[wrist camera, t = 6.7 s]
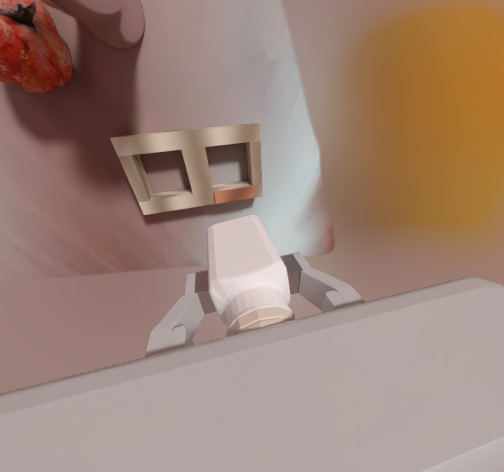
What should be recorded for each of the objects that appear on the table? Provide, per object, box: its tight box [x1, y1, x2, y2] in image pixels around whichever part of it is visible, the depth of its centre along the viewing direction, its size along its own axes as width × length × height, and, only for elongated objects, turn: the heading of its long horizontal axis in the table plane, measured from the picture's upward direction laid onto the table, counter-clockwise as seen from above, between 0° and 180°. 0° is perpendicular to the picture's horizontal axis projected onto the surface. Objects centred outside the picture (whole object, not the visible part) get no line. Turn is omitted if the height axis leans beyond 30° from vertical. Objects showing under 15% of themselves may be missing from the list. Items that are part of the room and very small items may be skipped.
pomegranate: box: [0, 0, 73, 93], centre depth 16 cm, size 7×7×10 cm
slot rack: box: [110, 123, 263, 215], centre depth 27 cm, size 18×10×3 cm, turn 95°
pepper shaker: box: [207, 215, 296, 337], centre depth 11 cm, size 4×4×10 cm
